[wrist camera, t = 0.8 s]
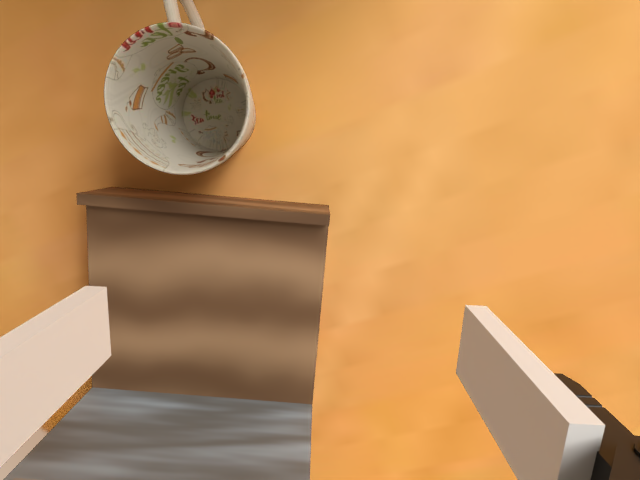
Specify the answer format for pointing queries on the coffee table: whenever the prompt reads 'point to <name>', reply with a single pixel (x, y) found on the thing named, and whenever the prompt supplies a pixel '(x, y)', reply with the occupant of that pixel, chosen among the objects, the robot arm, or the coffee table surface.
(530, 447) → the robot arm
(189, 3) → the mug
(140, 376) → the cleat board
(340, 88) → the coffee table surface
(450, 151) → the coffee table surface
